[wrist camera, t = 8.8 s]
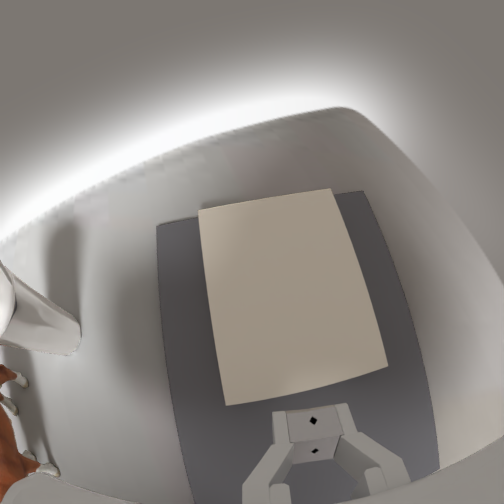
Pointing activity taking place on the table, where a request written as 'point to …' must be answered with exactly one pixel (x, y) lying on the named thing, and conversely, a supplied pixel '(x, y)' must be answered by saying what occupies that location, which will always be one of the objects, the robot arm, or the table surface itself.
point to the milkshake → (34, 319)
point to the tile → (286, 297)
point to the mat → (260, 412)
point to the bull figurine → (4, 443)
